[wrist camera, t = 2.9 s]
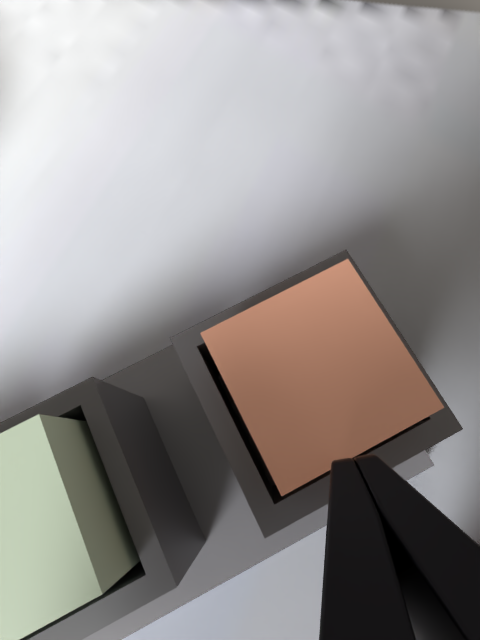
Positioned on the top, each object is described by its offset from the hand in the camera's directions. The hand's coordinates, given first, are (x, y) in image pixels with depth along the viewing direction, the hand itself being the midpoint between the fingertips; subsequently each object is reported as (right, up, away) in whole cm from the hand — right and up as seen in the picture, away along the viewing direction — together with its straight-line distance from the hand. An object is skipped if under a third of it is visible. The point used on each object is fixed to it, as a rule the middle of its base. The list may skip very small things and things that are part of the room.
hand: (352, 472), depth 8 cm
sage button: (-8, -4, +6) cm, 10 cm away
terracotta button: (0, 0, +7) cm, 7 cm away
